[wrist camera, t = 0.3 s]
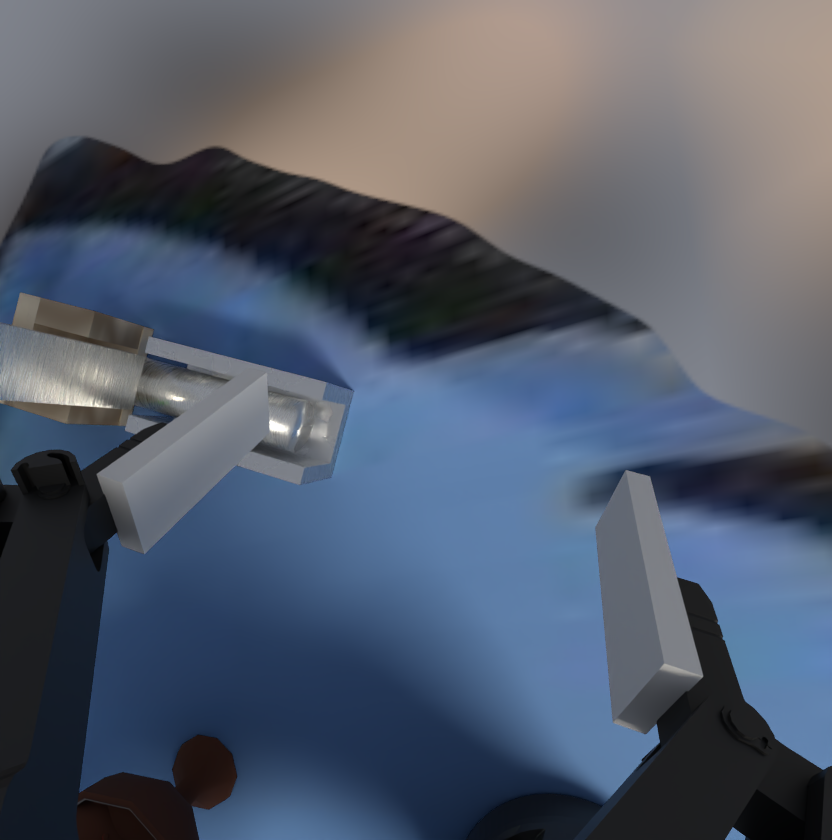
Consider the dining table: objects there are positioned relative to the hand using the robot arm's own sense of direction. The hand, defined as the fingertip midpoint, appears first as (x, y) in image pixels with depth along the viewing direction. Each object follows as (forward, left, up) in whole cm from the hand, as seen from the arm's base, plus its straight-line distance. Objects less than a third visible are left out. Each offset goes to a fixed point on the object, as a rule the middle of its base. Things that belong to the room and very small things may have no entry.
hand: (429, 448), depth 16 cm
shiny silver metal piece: (-2, +19, -16) cm, 25 cm away
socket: (-2, +32, -17) cm, 36 cm away
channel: (-2, +16, -17) cm, 24 cm away
